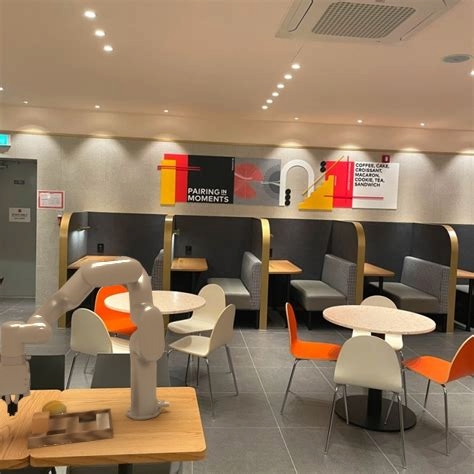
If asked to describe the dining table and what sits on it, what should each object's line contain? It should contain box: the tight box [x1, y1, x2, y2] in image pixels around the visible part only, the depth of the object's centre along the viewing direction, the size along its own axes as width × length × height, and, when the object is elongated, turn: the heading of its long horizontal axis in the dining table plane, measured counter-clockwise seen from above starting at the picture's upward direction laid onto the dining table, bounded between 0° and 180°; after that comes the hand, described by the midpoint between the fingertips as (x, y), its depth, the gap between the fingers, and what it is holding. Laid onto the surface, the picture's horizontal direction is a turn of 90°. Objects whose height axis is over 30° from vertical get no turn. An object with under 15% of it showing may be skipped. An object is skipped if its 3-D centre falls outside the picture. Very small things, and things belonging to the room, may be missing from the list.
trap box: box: [27, 407, 114, 450], centre depth 160 cm, size 26×17×3 cm, turn 108°
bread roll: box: [41, 399, 67, 415], centre depth 176 cm, size 8×9×4 cm
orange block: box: [31, 411, 49, 434], centre depth 157 cm, size 5×5×5 cm
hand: (12, 414), depth 154 cm, fingers closed
